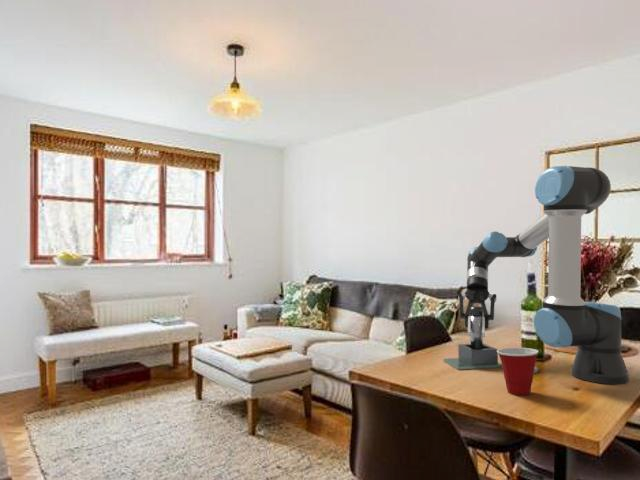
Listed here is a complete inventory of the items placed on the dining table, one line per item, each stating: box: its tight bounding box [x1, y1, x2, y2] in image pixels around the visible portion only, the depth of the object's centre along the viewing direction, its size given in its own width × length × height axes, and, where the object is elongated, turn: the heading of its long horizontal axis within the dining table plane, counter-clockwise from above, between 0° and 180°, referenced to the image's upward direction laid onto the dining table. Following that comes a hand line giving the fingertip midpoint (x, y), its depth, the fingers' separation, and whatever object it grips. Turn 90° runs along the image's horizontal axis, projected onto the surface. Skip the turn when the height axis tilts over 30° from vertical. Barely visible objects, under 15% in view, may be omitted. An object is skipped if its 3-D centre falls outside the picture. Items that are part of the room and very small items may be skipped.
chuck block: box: [443, 343, 503, 371], centre depth 157 cm, size 11×16×6 cm
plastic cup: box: [497, 347, 539, 397], centre depth 127 cm, size 11×11×12 cm
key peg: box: [470, 305, 484, 349], centre depth 158 cm, size 4×4×14 cm
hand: (476, 334), depth 154 cm, fingers closed on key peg, 4 cm apart
